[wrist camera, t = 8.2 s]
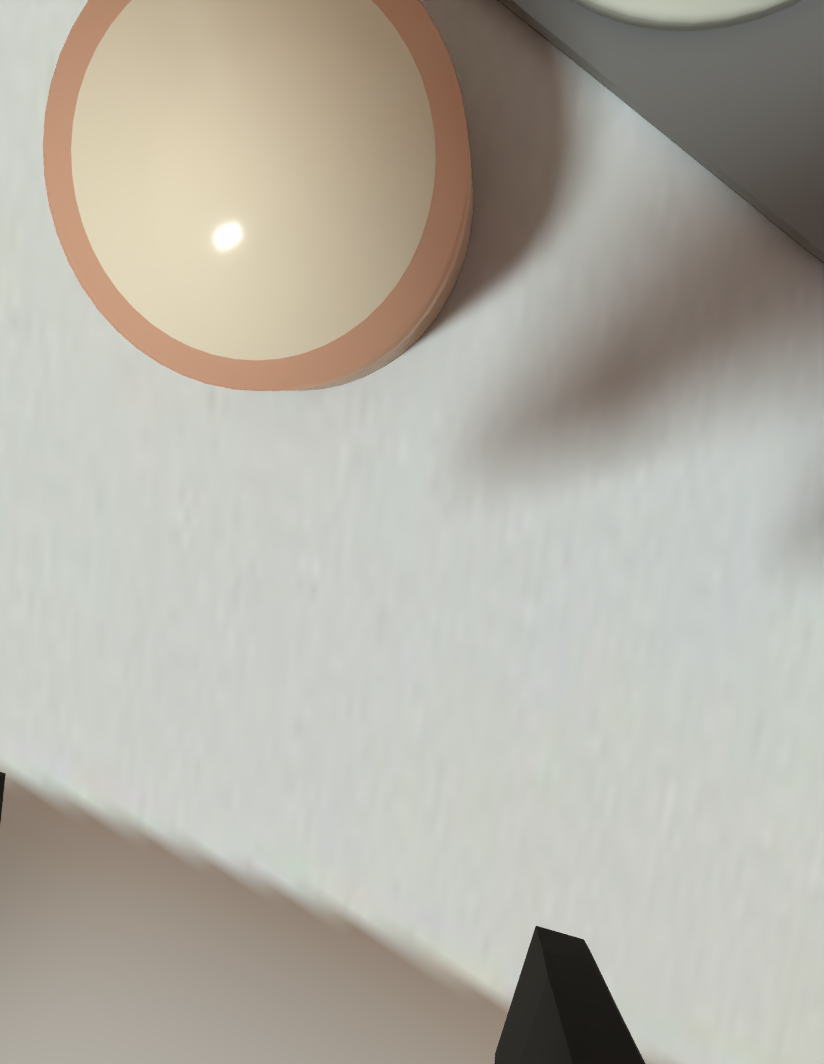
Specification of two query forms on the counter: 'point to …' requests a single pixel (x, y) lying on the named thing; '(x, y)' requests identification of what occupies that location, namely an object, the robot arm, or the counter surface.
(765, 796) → the counter surface
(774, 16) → the mat
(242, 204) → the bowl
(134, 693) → the counter surface
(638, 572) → the counter surface
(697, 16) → the lid
